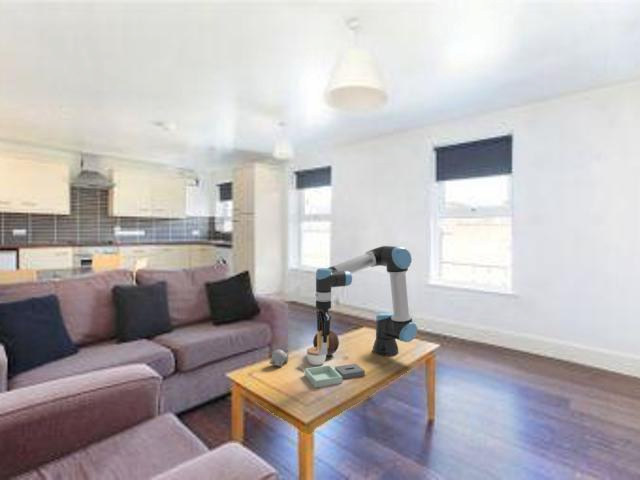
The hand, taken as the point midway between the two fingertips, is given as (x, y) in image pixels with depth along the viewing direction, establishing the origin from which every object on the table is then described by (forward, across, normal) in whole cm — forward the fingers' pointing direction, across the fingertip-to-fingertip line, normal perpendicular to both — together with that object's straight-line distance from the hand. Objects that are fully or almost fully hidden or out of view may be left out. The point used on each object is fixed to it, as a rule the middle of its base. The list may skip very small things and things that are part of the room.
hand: (322, 347), depth 178 cm
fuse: (+4, 0, 0) cm, 4 cm away
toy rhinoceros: (+16, -26, -14) cm, 34 cm away
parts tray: (+16, 0, 0) cm, 16 cm away
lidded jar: (+16, -20, +4) cm, 26 cm away
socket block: (+16, -1, +15) cm, 22 cm away
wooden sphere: (+16, -31, +14) cm, 38 cm away
